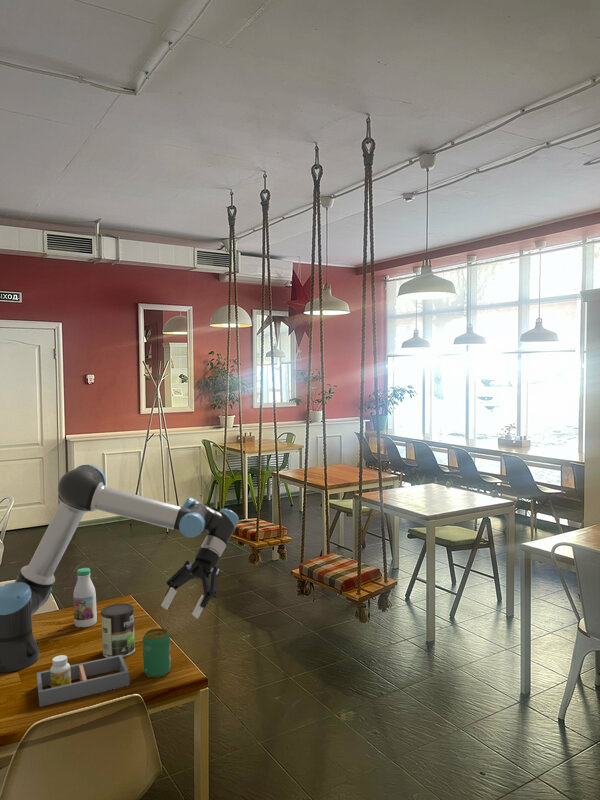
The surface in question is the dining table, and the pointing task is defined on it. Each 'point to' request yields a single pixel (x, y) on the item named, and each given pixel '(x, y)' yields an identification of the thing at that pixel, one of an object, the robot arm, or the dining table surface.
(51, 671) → the supplement bottle
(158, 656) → the beverage can
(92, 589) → the milk bottle
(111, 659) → the caddy
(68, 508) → the robot arm
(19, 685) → the dining table surface
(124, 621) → the coffee can
